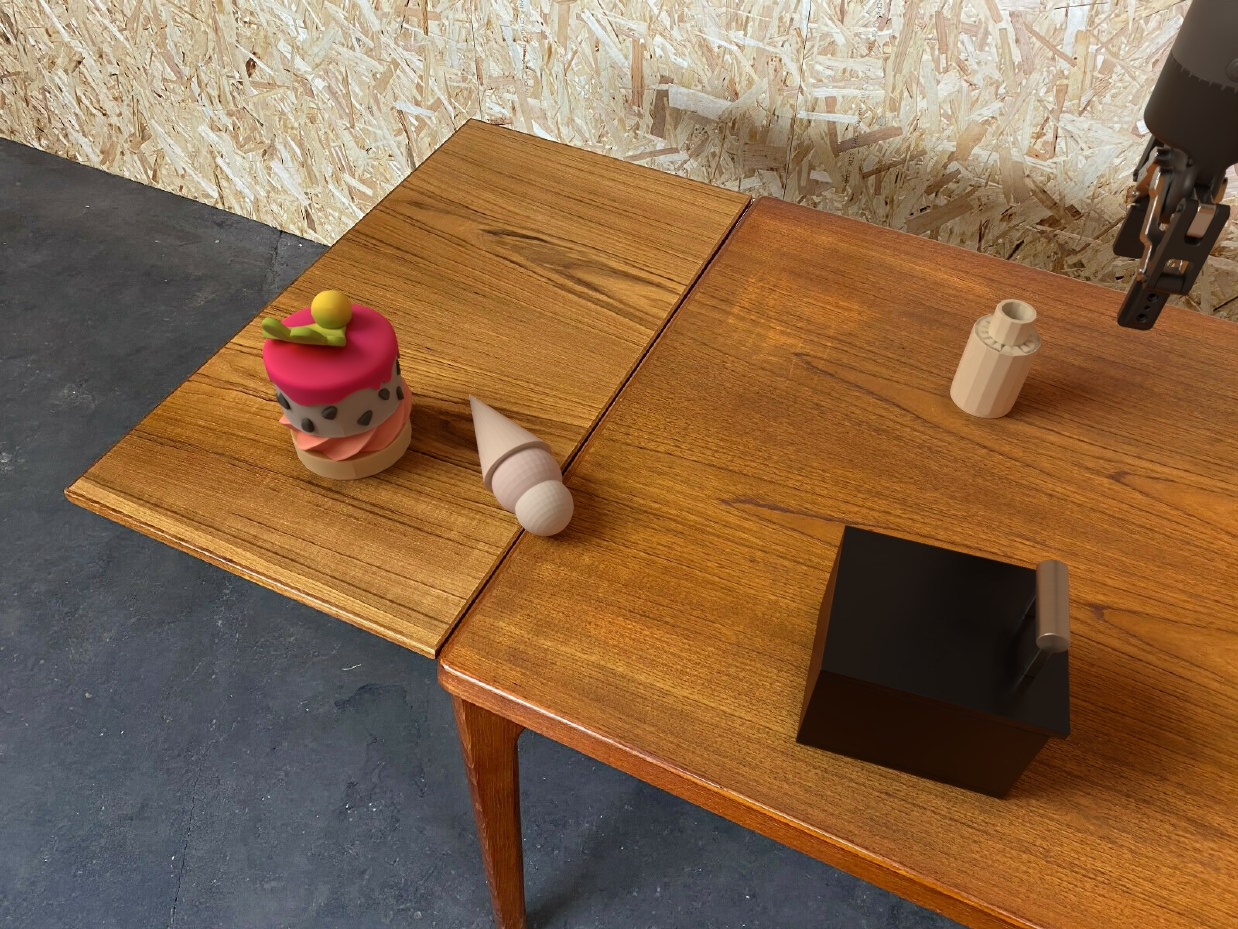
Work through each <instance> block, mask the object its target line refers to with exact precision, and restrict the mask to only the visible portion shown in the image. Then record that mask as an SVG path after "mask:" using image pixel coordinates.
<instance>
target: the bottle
mask: <svg viewBox="0 0 1238 929" xmlns="http://www.w3.org/2000/svg"><path fill="white" fill-rule="evenodd" d="M1037 313H1038V312H1037V310H1036V309H1035V308H1034V307H1033V306H1032V304H1030V303H1028V302H1026V301H1024V300H1022V299H1021V300H1020V299H1015V298H1010V299H1009V298H1008V299H1003V300H1001V301H1000V302H999V303H997V305H996V308H995V310H994V313H989V314H986V315H983V316H980V317H979V318H978V319H977V320H976V321H975V323H974V324H973V326H972V328H971V331H970V333H969V334H970V335H969V337H968V339H967V342H966V345H965V347H964V351H963V352H962V355H961V358H960V361H959V362H958V363H959V364H958V366H957V369H956V372H955V374H954V376H953V379H952V382H951V386H950V390H949V393H950V397H951V400H952V401H953V403H954V404H955V405H956V406H957V407H958V408H959V409H960V410H961V411H963V412H965V413H966V414H969V415H970V416H973V417H977V418H981V419H998V418H1002V417H1004V416H1006V415H1007V414H1008V413H1010V411H1011V410H1012V409H1013V406H1014V405H1015V403H1016V402H1017V399H1018V396H1019V395H1020V392H1021V390H1022V388H1023V386H1024V383H1025V381H1026V379H1027V377H1028V374H1029V372H1030V370H1031V368H1032V366H1033V363H1034V362H1035V359H1036V357H1037V355H1038V352H1039V350H1040V348H1041V346H1042V336H1041V334H1040V332H1039V331H1038V329H1037V328H1036V327H1035V326H1034V325H1035V323H1036V320H1037Z"/></svg>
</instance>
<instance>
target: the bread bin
mask: <svg viewBox="0 0 1238 929" xmlns="http://www.w3.org/2000/svg"><path fill="white" fill-rule="evenodd" d="M842 537H843V534H842V535H841V538H840V541H839V545H838V547H837V551H836V554H835V556H834V557H835V558H834V560H833V564H832V566H831V570H830V574H829V577H828V580H827V583H826V586H825V590H824V593H823V596H822V599H821V601H820V606H819V612H818V616H817V622H816V627H815V633H814V638H813V639H814V640H813V643H812V649H811V655H810V660H809V664H808V671H807V675H806V676H807V677H806V682H805V686H804V693H803V698H802V702H801V703H802V704H801V710H800V715H799V719H798V724H797V730H796V735H795V743H796V744H800V745H804V746H807V747H811V748H815V749H818V750H822V751H826V752H829V753H832V754H836V755H840V756H843V757H847V758H850V759H853V760H854V759H855V760H858V761H862V762H865V763H869V764H872V765H876V766H879V767H883V768H886V769H890V770H893V771H897V772H900V773H905V774H908V775H912V776H915V777H919V778H923V779H926V780H930V781H933V782H937V783H940V784H945V785H947V786H952V787H955V788H959V789H962V790H965V791H969V792H973V793H977V794H980V795H983V796H987V797H991V798H994V799H998V800H1004V799H1005V798H1006V796H1007V795H1008V794H1009V793H1010V792H1011V791H1012V789H1013V788H1014V786H1015V785H1016V784H1017V783H1018V781H1019V780H1020V778H1021V777H1022V776H1023V775H1024V774H1025V772H1026V771H1027V769H1029V768H1030V766H1031V765H1032V763H1033V762H1034V761H1035V759H1036V758H1037V756H1038V755H1039V754H1040V753H1041V752H1042V750H1043V749H1044V747H1045V746H1046V745H1047V743H1048V742H1049V741H1050V739H1051V738H1052V737H1050V736H1046V735H1042V734H1038V733H1035V732H1031V731H1027V730H1023V729H1019V728H1016V727H1012V726H1008V725H1004V724H1001V723H997V722H993V721H989V720H985V719H982V718H978V717H974V716H970V715H966V714H963V713H959V712H955V711H951V710H948V709H944V708H940V707H936V706H932V705H929V704H925V703H921V702H917V701H913V700H910V699H906V698H902V697H898V696H895V695H891V694H887V693H883V692H879V691H876V690H872V689H868V688H864V687H860V686H857V685H853V684H849V683H845V682H842V681H838V680H834V679H830V678H826V677H823V676H819V675H818V674H819V668H820V662H821V657H822V651H823V645H824V640H825V634H826V628H827V623H828V617H829V611H830V605H831V600H832V594H833V588H834V583H835V577H836V571H837V565H838V560H839V554H840V548H841V543H842Z"/></svg>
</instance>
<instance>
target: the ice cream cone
mask: <svg viewBox="0 0 1238 929" xmlns="http://www.w3.org/2000/svg"><path fill="white" fill-rule="evenodd" d="M468 398H469V403H470V409H471V415H472V422H473V427H474V432H475V439H476V443H477V450H478V457H479V461H480V462H479V463H480V469H481V473H482V479H483V480H482V481H483V485H484V488H485V489H486V490H487V491H488V492H491V493H493V495H494V497H495V499H496V501H497V502H498V503H499V504H500V506H501V507H502V508H504V509H505V510H506V511H508V512H510V513H512V514H514V515H515V516H516V519H517V520H518V523H519V524H520V525H521V527H523V529H524V530H525V531H527V532H528V533H531V534H532V535H535V536H540V537H549V536H554V535H556V534H559V533H560V532H562V531H563V530H564V529H565V528H566V527H567V526H568V525H569V523H570V522H571V520H572V517H573V516H574V515H573V514H574V510H575V509H574V508H575V506H574V500H573V496H572V494H571V492H570V490H569V489H568V488H567V486H566V485H565V484H563V474H562V470H561V467H560V465H559V463H558V462H557V460H556V459H555V458H554V456H553V455H552V449H551V446H550V444H549V443H547V442H545V441H544V440H543V439H541V438H539V437H538V436H536V435H535V434H534V433H532V432H530V431H529V430H527V429H526V428H524V427H522V425H521V426H520V425H519V424H518V423H516V422H514V421H513V420H511V419H510V418H508V417H506V416H505V415H503V414H502V413H501V412H499V411H497V410H495V409H494V408H492V407H491V406H490V405H488V404H486V403H485V402H483V401H481V400H480V399H478V398H477V397H475V396H474V395H472V394H470V393H468Z"/></svg>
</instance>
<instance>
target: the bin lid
mask: <svg viewBox="0 0 1238 929" xmlns="http://www.w3.org/2000/svg"><path fill="white" fill-rule="evenodd" d="M842 535H843V537H842V536H841V538H842V543H841V548H840V554H839V560H838V565H837V571H836V577H835V583H834V588H833V594H832V600H831V605H830V611H829V617H828V623H827V628H826V634H825V640H824V645H823V651H822V657H821V662H820V668H819V674H818V675H819V676H823V677H826V678H830V679H834V680H838V681H842V682H845V683H849V684H853V685H857V686H860V687H864V688H868V689H872V690H876V691H879V692H883V693H887V694H891V695H895V696H898V697H902V698H906V699H910V700H913V701H917V702H921V703H925V704H929V705H932V706H936V707H940V708H944V709H948V710H951V711H955V712H959V713H963V714H966V715H970V716H974V717H978V718H982V719H985V720H989V721H993V722H997V723H1001V724H1004V725H1008V726H1012V727H1016V728H1019V729H1023V730H1027V731H1031V732H1035V733H1038V734H1042V735H1046V736H1050V737H1051V738H1054V739H1056V740H1057V739H1058V740H1061V741H1064V742H1065V741H1067V740H1068V738H1069V737H1070V736H1071V735H1072V734H1071V733H1072V731H1071V730H1072V726H1071V694H1070V655H1069V649H1070V647H1071V644H1072V643H1071V612H1070V610H1071V609H1070V608H1071V607H1070V575H1069V574H1070V573H1069V570H1070V569H1069V567H1068V565H1067V564H1066V563H1065V562H1063V561H1061V560H1058V559H1045V560H1041V561H1040V562H1038V563H1037V564H1036V566H1035V568H1031V567H1027V566H1023V565H1019V564H1014V563H1009V562H1006V561H1001V560H997V559H993V558H989V557H984V556H980V555H976V554H971V553H969V552H968V553H967V552H964V551H959V550H954V549H951V548H947V547H943V546H937V545H933V544H928V543H924V542H921V541H916V540H912V539H909V538H908V539H907V538H904V537H899V536H896V535H890V534H887V533H883V532H877V531H874V530H869V529H865V528H861V527H857V526H852V525H848V524H845V525H844V529H843V531H842Z"/></svg>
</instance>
